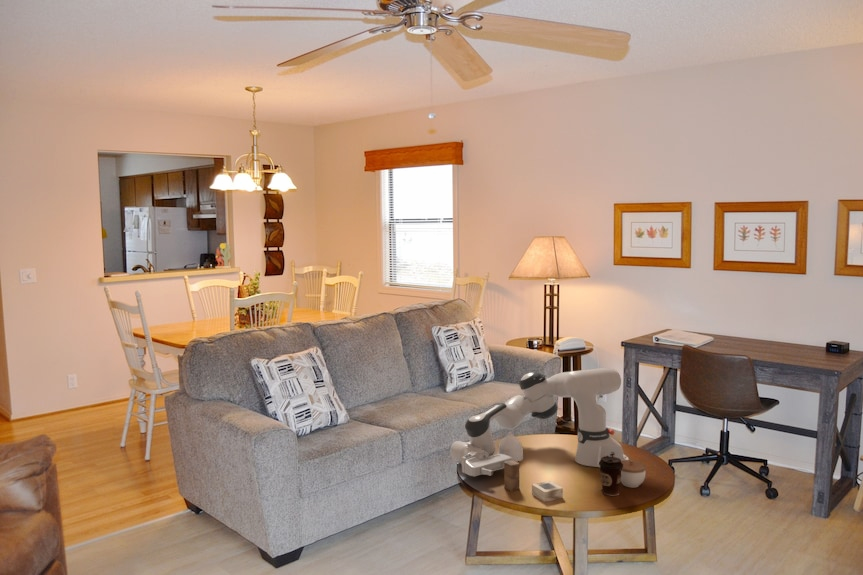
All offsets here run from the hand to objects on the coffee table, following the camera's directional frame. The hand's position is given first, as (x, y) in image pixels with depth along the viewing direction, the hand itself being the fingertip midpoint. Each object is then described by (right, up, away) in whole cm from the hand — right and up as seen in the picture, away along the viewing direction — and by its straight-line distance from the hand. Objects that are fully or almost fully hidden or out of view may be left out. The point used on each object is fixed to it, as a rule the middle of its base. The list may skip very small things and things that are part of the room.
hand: (501, 470), depth 262 cm
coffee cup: (+39, -6, -9) cm, 41 cm away
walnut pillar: (+4, -6, -4) cm, 8 cm away
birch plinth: (+16, -7, -11) cm, 20 cm away
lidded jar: (+49, -5, -1) cm, 50 cm away
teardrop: (+7, -3, +29) cm, 30 cm away
